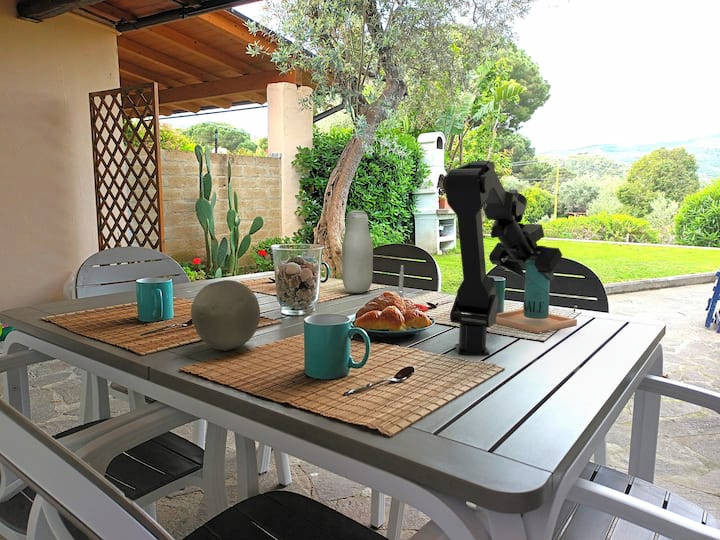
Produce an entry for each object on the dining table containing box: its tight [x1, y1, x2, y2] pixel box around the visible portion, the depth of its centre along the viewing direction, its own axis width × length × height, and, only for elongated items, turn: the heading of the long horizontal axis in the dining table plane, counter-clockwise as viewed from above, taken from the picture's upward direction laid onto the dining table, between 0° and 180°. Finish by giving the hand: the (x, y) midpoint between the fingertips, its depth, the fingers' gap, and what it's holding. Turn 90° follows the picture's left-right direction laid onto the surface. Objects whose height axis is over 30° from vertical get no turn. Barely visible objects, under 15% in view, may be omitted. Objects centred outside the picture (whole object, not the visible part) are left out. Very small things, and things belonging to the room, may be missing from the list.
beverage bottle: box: [522, 245, 551, 319], centre depth 135 cm, size 6×7×20 cm
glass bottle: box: [341, 209, 374, 294], centre depth 175 cm, size 10×10×28 cm
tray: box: [495, 308, 578, 334], centre depth 137 cm, size 16×16×2 cm
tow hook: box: [397, 264, 429, 313], centre depth 151 cm, size 8×13×9 cm
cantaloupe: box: [190, 279, 261, 352], centre depth 110 cm, size 14×14×15 cm
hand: (537, 277), depth 136 cm, fingers open, 9 cm apart
